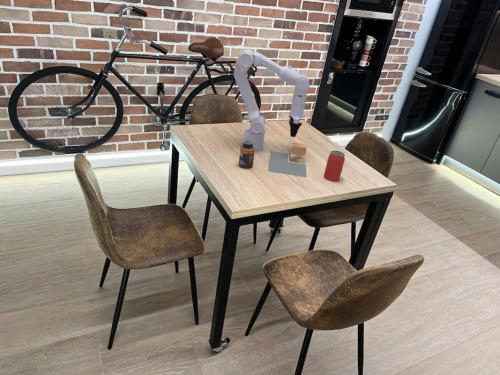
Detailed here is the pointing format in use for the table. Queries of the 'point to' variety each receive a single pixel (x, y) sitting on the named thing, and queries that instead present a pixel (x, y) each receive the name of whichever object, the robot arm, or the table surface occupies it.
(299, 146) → the terracotta block
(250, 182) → the table surface
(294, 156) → the base block
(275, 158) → the board
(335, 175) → the beer can
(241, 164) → the supplement bottle
